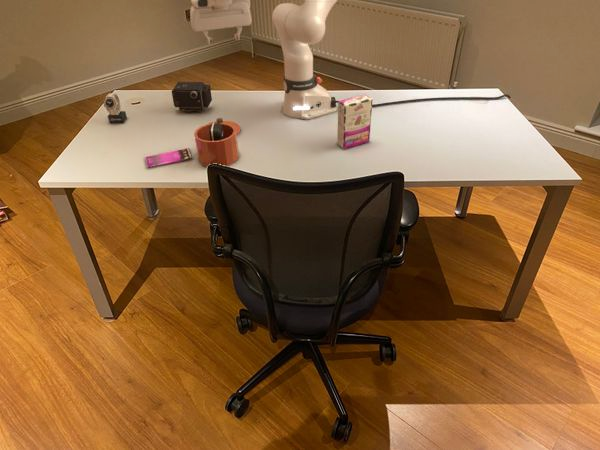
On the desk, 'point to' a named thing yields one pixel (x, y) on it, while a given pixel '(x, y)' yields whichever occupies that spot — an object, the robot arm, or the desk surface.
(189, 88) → the camera
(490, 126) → the desk surface
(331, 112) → the robot arm
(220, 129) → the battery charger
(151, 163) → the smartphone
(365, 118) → the candy bar box
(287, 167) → the desk surface
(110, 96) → the watch
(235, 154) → the pot
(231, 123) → the lid
